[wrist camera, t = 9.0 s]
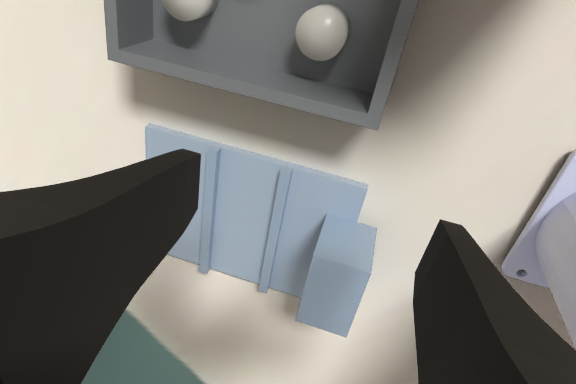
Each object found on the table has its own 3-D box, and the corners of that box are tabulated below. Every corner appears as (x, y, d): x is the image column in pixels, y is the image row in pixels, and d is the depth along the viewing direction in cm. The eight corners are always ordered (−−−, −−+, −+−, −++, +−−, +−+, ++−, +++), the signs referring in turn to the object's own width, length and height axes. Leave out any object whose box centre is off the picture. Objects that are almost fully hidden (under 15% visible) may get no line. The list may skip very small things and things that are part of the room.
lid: (389, 186, 23) (384, 237, 19) (347, 301, 28) (336, 362, 24) (154, 120, 25) (101, 153, 21) (155, 239, 30) (113, 285, 26)
